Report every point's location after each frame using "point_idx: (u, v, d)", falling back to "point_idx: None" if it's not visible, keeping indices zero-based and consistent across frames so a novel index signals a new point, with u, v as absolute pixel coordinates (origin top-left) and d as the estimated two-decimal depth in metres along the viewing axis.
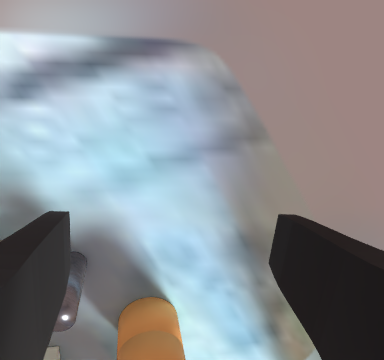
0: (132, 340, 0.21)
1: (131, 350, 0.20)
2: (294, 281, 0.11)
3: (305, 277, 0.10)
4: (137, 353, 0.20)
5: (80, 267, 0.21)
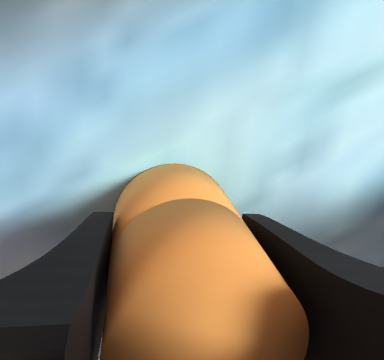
0: None
1: None
2: None
3: None
4: None
5: None
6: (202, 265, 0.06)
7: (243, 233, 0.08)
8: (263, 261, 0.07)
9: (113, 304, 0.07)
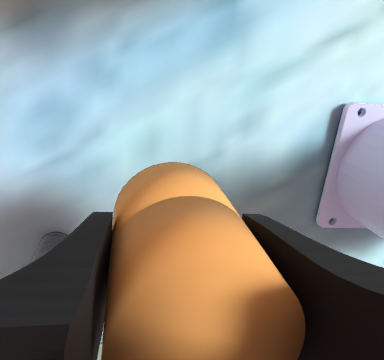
0: None
1: None
2: None
3: None
4: None
5: (39, 248, 0.18)
6: (201, 259, 0.06)
7: (241, 229, 0.08)
8: (260, 256, 0.07)
9: (114, 299, 0.07)
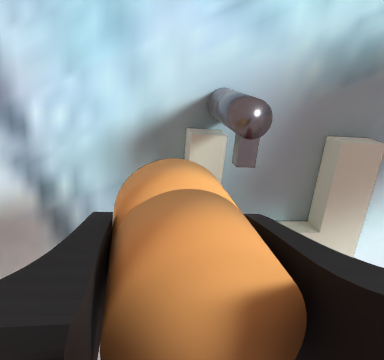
0: None
1: None
2: None
3: None
4: None
5: (220, 93, 0.17)
6: (200, 247, 0.06)
7: (240, 220, 0.08)
8: (260, 245, 0.07)
9: (113, 289, 0.07)
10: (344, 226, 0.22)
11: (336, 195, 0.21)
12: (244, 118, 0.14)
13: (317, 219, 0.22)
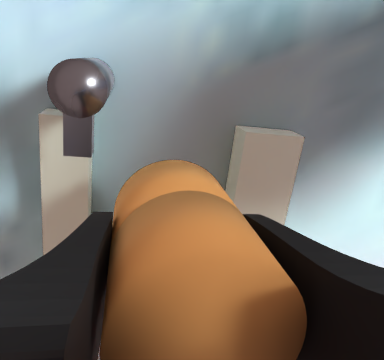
0: None
1: None
2: None
3: None
4: None
5: None
6: (200, 250, 0.06)
7: (240, 222, 0.08)
8: (260, 247, 0.07)
9: (112, 291, 0.07)
10: None
11: (244, 199, 0.17)
12: (64, 87, 0.10)
13: None
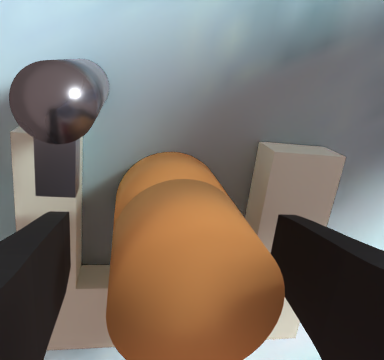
0: None
1: None
2: (294, 281, 0.11)
3: (305, 277, 0.10)
4: None
5: None
6: (191, 227, 0.07)
7: (229, 206, 0.09)
8: (244, 227, 0.08)
9: (117, 264, 0.08)
10: None
11: (270, 233, 0.14)
12: (35, 101, 0.07)
13: None
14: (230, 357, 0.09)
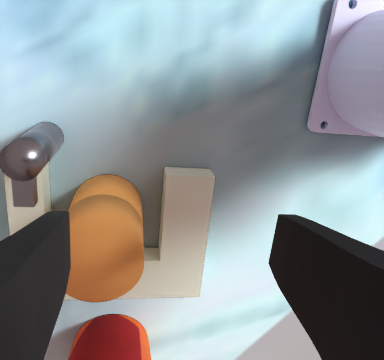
0: None
1: None
2: (294, 281, 0.11)
3: (305, 277, 0.10)
4: None
5: None
6: (88, 222, 0.15)
7: (120, 210, 0.17)
8: (121, 221, 0.16)
9: None
10: (185, 254, 0.22)
11: (170, 225, 0.21)
12: (11, 161, 0.15)
13: (159, 247, 0.22)
14: (119, 291, 0.16)
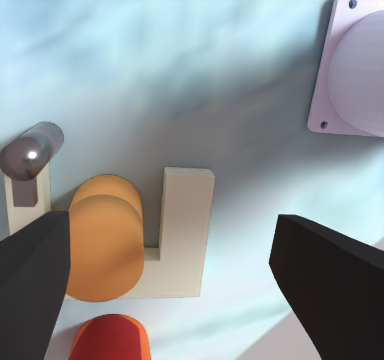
0: None
1: None
2: (294, 281, 0.11)
3: (305, 277, 0.10)
4: None
5: None
6: (87, 221, 0.15)
7: (120, 210, 0.17)
8: (121, 221, 0.16)
9: None
10: (185, 254, 0.22)
11: (171, 225, 0.21)
12: (11, 161, 0.15)
13: (160, 247, 0.22)
14: (119, 291, 0.16)
